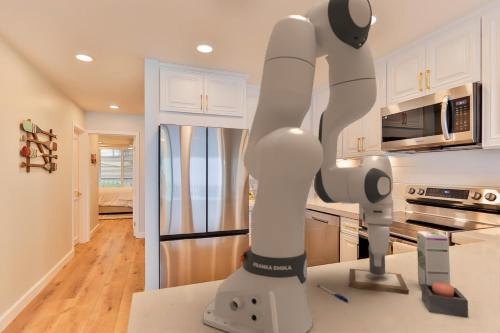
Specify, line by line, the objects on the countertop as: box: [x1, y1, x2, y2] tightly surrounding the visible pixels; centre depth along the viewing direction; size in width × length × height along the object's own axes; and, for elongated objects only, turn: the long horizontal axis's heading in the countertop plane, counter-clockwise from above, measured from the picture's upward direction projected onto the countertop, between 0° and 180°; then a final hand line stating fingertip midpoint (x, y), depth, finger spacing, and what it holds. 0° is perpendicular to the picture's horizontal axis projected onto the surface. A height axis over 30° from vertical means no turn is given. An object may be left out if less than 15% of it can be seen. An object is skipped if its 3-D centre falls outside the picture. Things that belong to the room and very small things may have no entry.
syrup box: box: [416, 230, 451, 287], centre depth 73 cm, size 6×6×14 cm
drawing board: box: [349, 268, 410, 295], centre depth 78 cm, size 14×12×1 cm
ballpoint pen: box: [317, 284, 349, 303], centre depth 70 cm, size 10×1×1 cm, turn 28°
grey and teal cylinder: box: [368, 245, 386, 275], centre depth 78 cm, size 4×4×7 cm
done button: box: [432, 282, 455, 297], centre depth 63 cm, size 4×4×2 cm
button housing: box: [421, 284, 469, 318], centre depth 63 cm, size 7×7×4 cm
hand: (376, 262), depth 78 cm, fingers closed on grey and teal cylinder, 4 cm apart
